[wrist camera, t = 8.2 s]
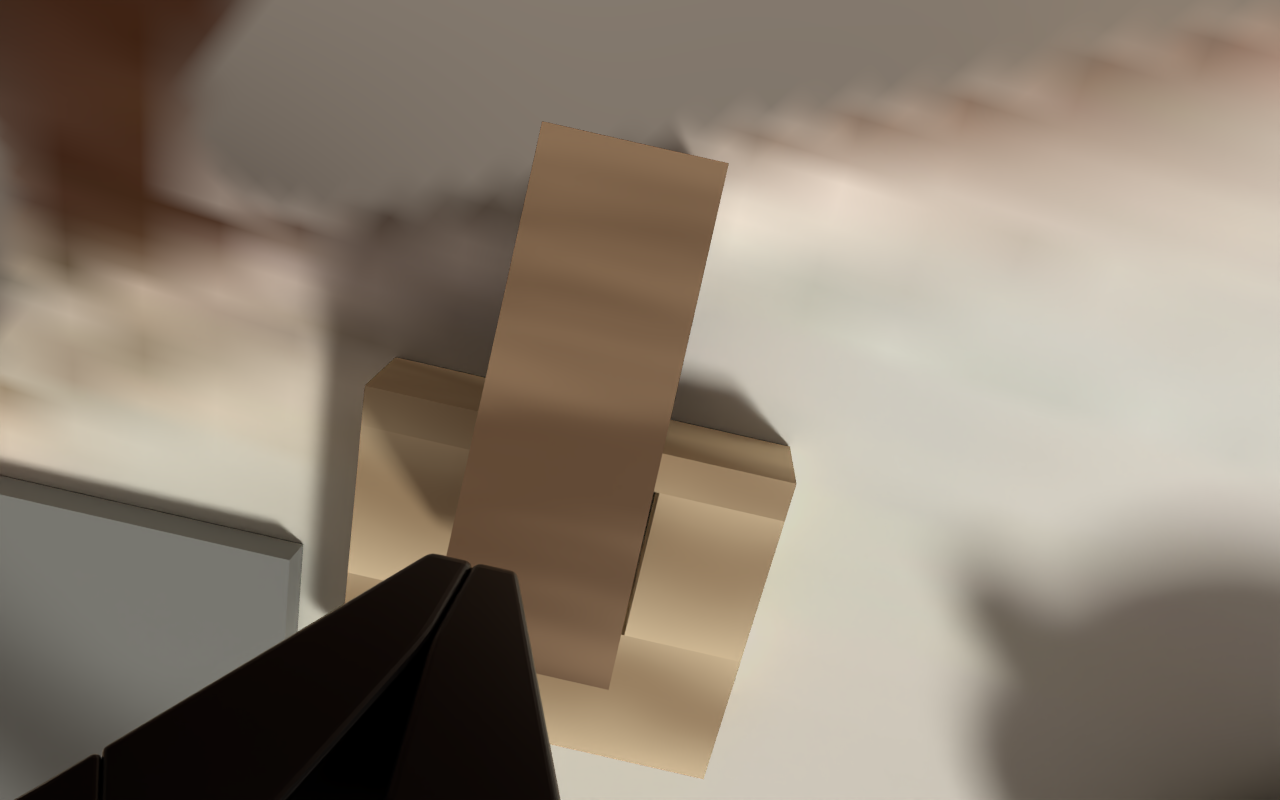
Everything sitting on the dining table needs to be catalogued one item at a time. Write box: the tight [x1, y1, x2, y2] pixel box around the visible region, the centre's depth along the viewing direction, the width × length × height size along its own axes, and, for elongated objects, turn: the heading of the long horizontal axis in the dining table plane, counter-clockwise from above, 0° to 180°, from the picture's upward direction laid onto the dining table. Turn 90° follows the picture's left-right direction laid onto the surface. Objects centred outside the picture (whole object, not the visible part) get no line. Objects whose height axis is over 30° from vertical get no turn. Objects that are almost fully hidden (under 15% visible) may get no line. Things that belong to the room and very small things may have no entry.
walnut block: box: [446, 122, 729, 690], centre depth 18 cm, size 4×4×10 cm
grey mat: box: [0, 476, 303, 800], centre depth 26 cm, size 12×12×1 cm
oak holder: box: [345, 357, 796, 779], centre depth 22 cm, size 9×10×2 cm
